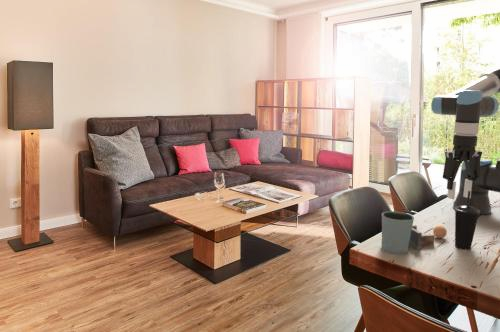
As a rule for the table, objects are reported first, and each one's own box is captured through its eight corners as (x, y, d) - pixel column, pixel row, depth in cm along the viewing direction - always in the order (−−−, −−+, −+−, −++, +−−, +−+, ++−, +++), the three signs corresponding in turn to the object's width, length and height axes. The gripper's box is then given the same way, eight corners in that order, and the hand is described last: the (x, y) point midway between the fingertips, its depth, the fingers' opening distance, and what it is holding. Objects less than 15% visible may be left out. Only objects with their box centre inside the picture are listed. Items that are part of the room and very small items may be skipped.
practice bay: (414, 233, 150) (415, 218, 149) (439, 248, 137) (441, 231, 136) (393, 235, 148) (395, 220, 147) (417, 250, 135) (418, 233, 134)
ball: (440, 235, 149) (441, 223, 148) (448, 239, 145) (450, 227, 144) (430, 236, 148) (431, 224, 147) (438, 240, 144) (439, 228, 143)
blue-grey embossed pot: (373, 247, 137) (375, 214, 135) (391, 241, 143) (393, 209, 140) (399, 257, 129) (401, 222, 127) (417, 250, 134) (420, 216, 132)
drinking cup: (474, 253, 132) (481, 195, 129) (449, 248, 136) (455, 192, 133) (476, 245, 139) (482, 190, 135) (451, 241, 143) (457, 187, 139)
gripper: (480, 132, 146) (473, 193, 150) (435, 133, 142) (429, 196, 146) (496, 135, 139) (489, 199, 143) (449, 136, 135) (443, 202, 139)
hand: (458, 197), depth 145 cm, fingers open, 6 cm apart
